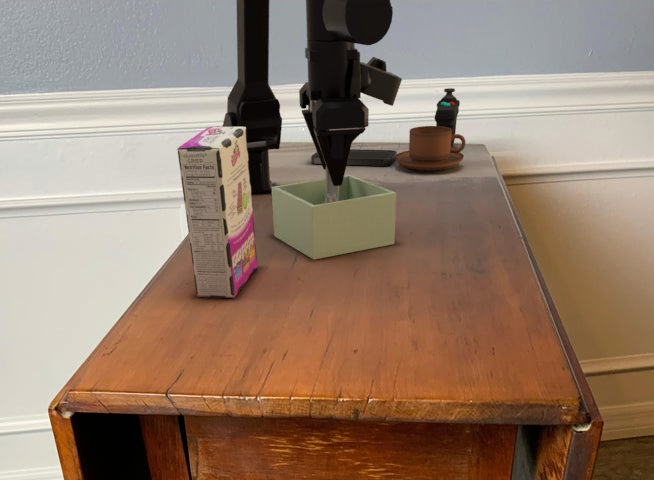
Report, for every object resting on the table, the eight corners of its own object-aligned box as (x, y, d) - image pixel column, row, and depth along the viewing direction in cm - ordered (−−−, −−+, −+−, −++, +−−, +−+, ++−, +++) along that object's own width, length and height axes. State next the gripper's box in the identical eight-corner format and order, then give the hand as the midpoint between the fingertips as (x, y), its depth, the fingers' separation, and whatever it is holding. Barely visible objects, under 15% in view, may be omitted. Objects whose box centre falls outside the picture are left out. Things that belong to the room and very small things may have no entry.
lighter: (337, 240, 106) (337, 178, 101) (324, 240, 106) (323, 178, 101) (339, 222, 112) (338, 162, 107) (327, 222, 112) (326, 162, 107)
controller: (457, 142, 158) (461, 86, 153) (453, 156, 149) (458, 96, 143) (436, 142, 159) (439, 86, 153) (430, 156, 149) (433, 96, 144)
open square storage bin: (274, 236, 111) (271, 186, 107) (350, 222, 115) (350, 174, 111) (313, 259, 102) (312, 206, 98) (394, 244, 106) (396, 192, 102)
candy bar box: (220, 266, 101) (206, 125, 91) (258, 267, 100) (248, 125, 90) (193, 298, 92) (174, 145, 82) (234, 299, 91) (221, 145, 82)
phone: (389, 159, 142) (309, 156, 146) (389, 166, 143) (309, 163, 147) (398, 150, 149) (321, 148, 152) (397, 156, 149) (321, 154, 153)
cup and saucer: (443, 157, 148) (446, 121, 144) (474, 170, 139) (478, 132, 135) (384, 164, 145) (385, 127, 141) (412, 178, 136) (413, 139, 132)
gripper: (414, 42, 88) (408, 190, 97) (382, 29, 103) (379, 158, 112) (314, 48, 87) (318, 196, 96) (296, 33, 102) (301, 163, 111)
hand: (332, 177), depth 104 cm, fingers open, 9 cm apart
